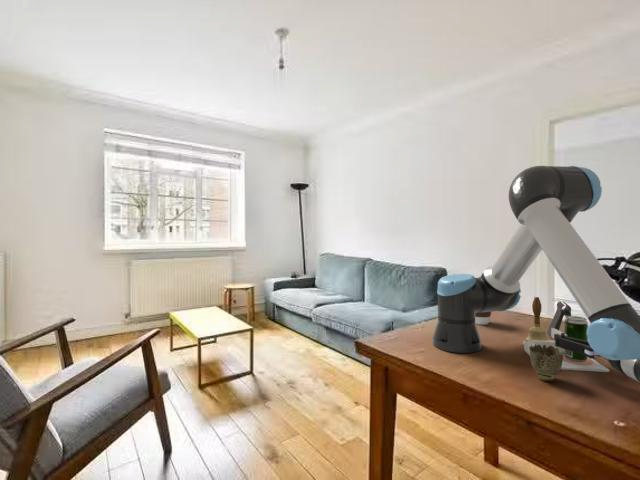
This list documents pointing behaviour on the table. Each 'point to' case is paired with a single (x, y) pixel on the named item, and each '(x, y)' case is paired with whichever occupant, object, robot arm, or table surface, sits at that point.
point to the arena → (567, 364)
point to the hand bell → (536, 323)
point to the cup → (546, 361)
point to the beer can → (576, 335)
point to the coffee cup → (482, 318)
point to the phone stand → (559, 316)
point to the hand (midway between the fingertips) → (577, 332)
